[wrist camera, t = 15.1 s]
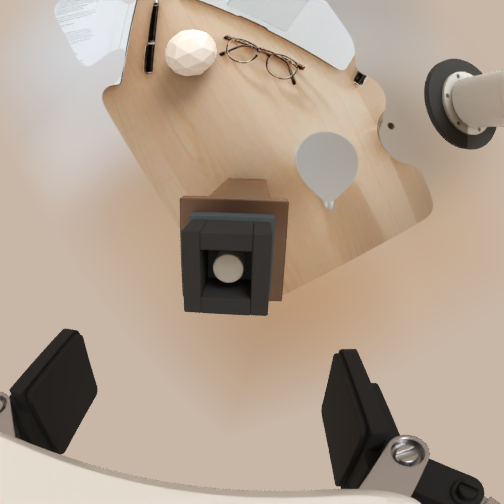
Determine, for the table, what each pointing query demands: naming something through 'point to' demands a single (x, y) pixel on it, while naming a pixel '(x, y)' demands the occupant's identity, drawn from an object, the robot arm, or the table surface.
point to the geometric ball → (190, 52)
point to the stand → (245, 201)
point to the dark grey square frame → (212, 289)
